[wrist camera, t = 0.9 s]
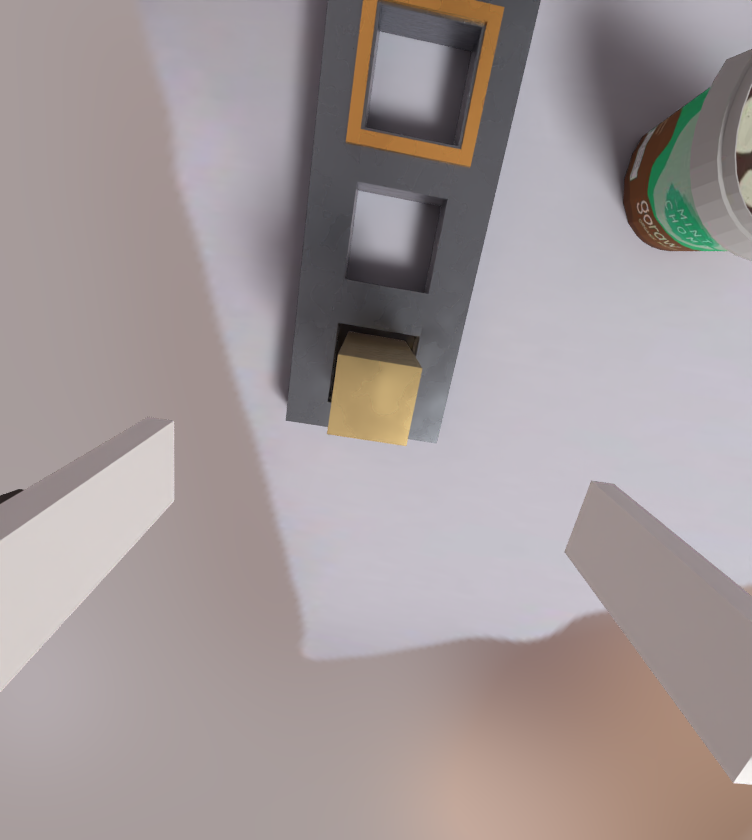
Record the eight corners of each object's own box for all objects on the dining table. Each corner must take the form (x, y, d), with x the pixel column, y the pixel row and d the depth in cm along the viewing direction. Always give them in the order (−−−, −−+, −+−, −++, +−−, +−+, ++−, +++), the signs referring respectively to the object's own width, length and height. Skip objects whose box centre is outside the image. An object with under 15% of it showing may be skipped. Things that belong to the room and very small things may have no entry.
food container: (568, 210, 28) (667, 173, 19) (626, 123, 27) (766, 34, 17) (692, 300, 31) (837, 306, 21) (753, 224, 29) (940, 194, 19)
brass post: (348, 331, 31) (338, 354, 21) (405, 340, 31) (422, 368, 21) (340, 386, 32) (327, 433, 22) (394, 394, 33) (406, 446, 22)
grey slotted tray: (336, -21, 24) (332, -57, 22) (525, 22, 25) (543, -8, 22) (291, 410, 33) (285, 421, 30) (432, 432, 34) (437, 444, 31)
